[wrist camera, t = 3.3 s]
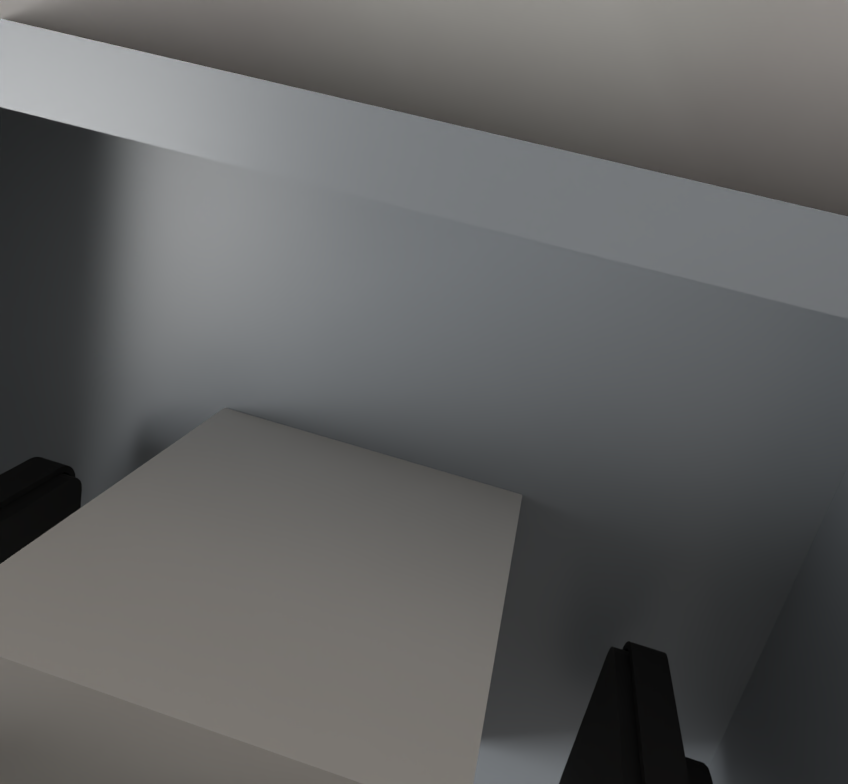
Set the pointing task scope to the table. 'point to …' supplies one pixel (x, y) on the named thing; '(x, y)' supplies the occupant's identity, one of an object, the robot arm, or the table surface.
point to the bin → (460, 367)
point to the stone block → (257, 619)
